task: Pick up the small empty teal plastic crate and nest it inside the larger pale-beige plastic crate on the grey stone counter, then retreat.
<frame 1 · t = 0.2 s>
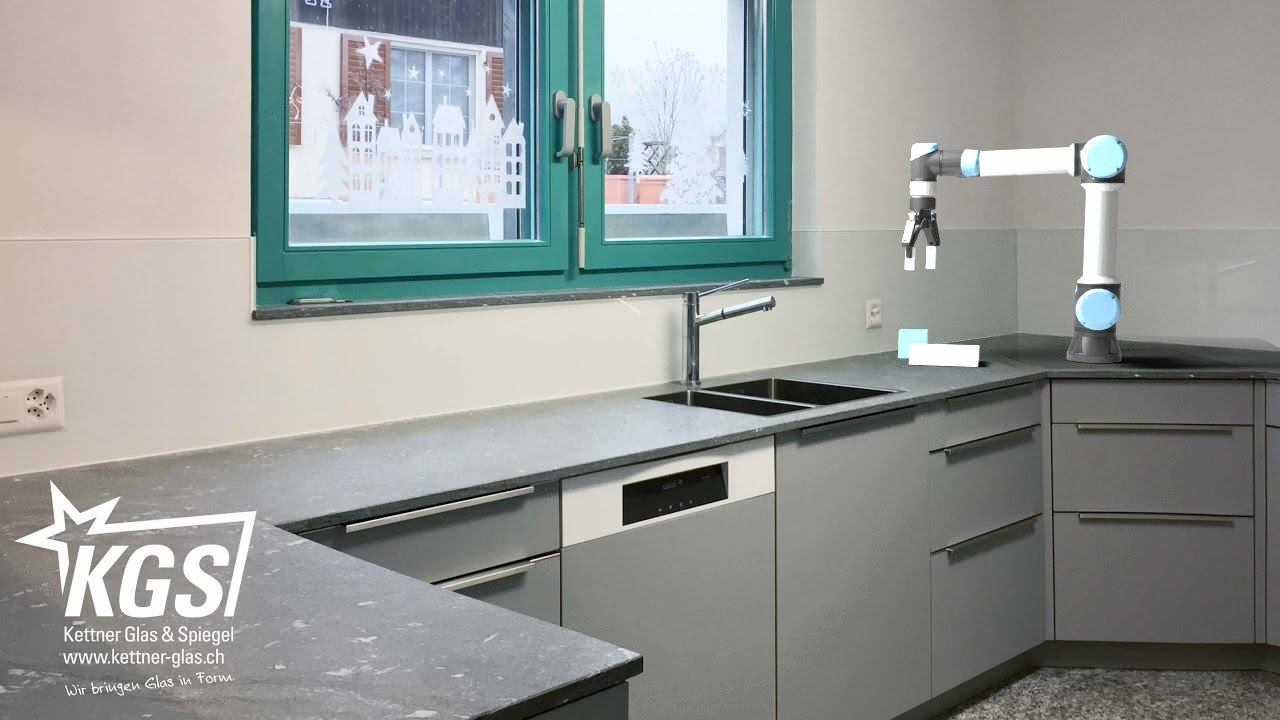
hand: (920, 269, 358), 27 cm above the countertop, fingers open, 13 cm apart
small crate: (912, 356, 367), on the countertop
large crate: (944, 362, 352), on the countertop
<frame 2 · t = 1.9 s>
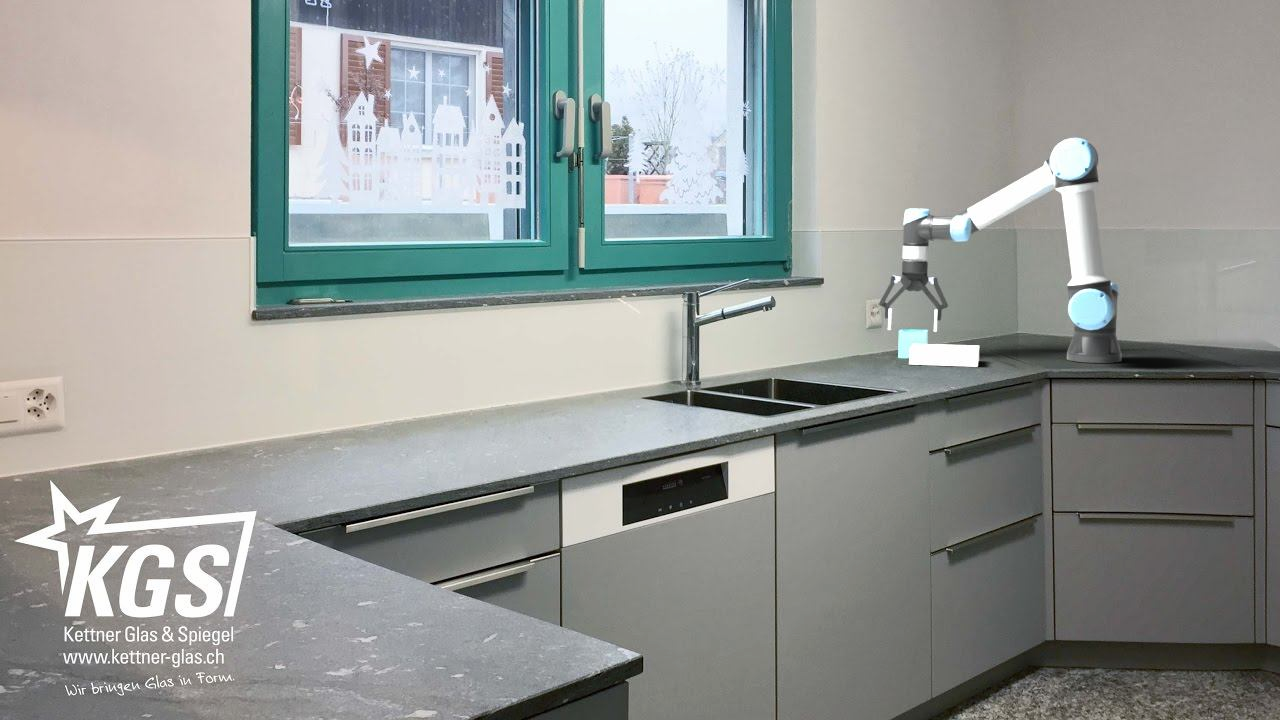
hand: (912, 330, 367), 8 cm above the countertop, fingers open, 13 cm apart
nothing on the countertop moved.
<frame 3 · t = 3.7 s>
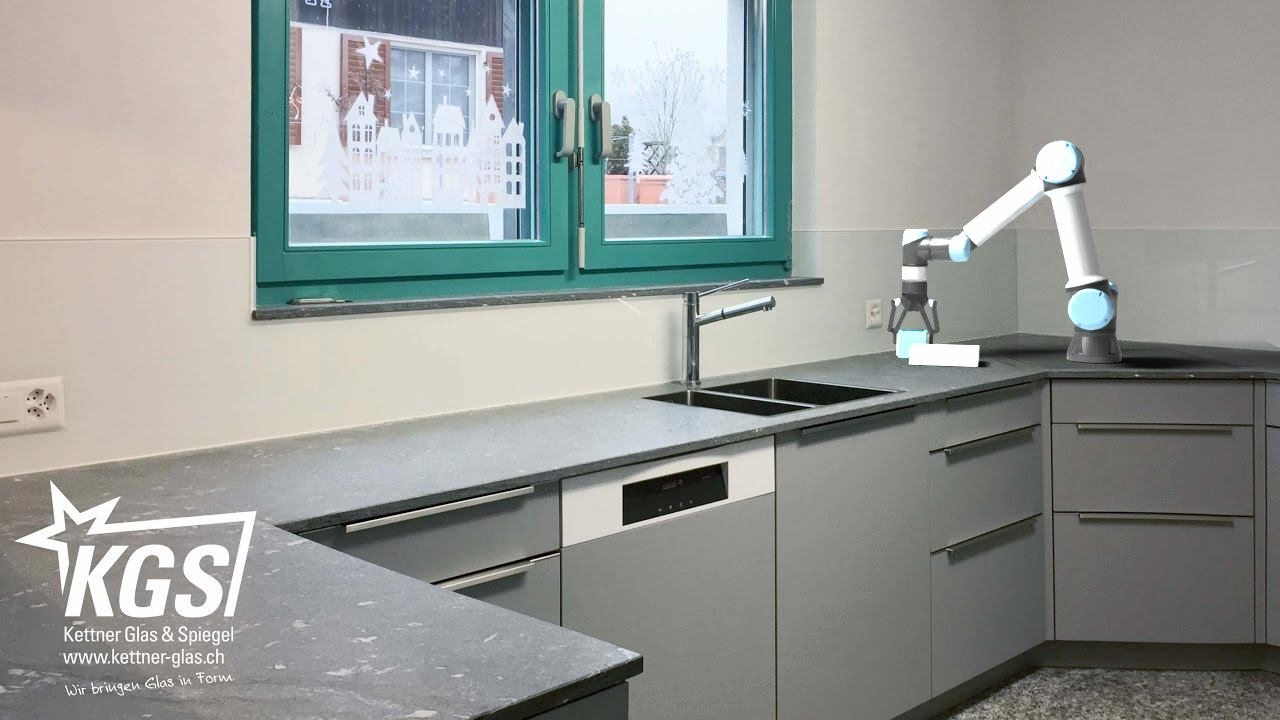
hand: (912, 355, 367), 0 cm above the countertop, fingers closed on small crate, 8 cm apart
small crate: (912, 356, 367), on the countertop, touching gripper
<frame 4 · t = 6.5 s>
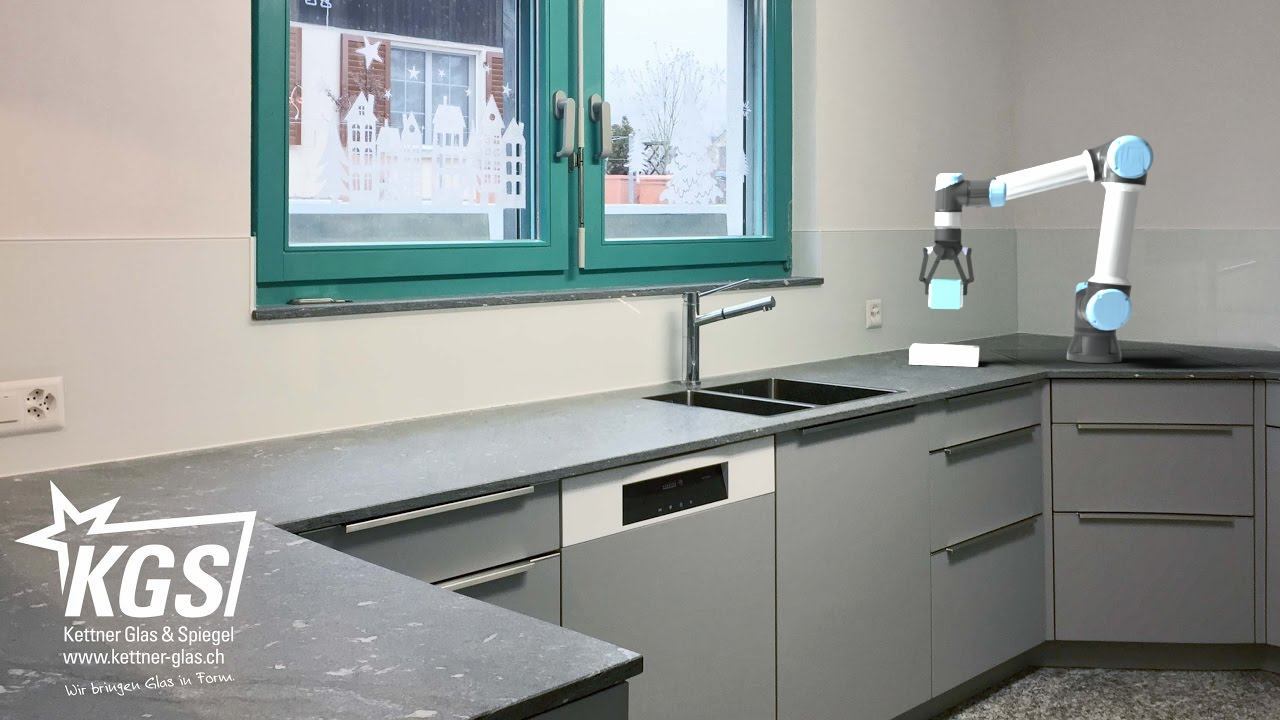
hand: (945, 306, 350), 16 cm above the countertop, fingers closed on small crate, 8 cm apart
small crate: (945, 307, 350), point 16 cm above the countertop, touching gripper
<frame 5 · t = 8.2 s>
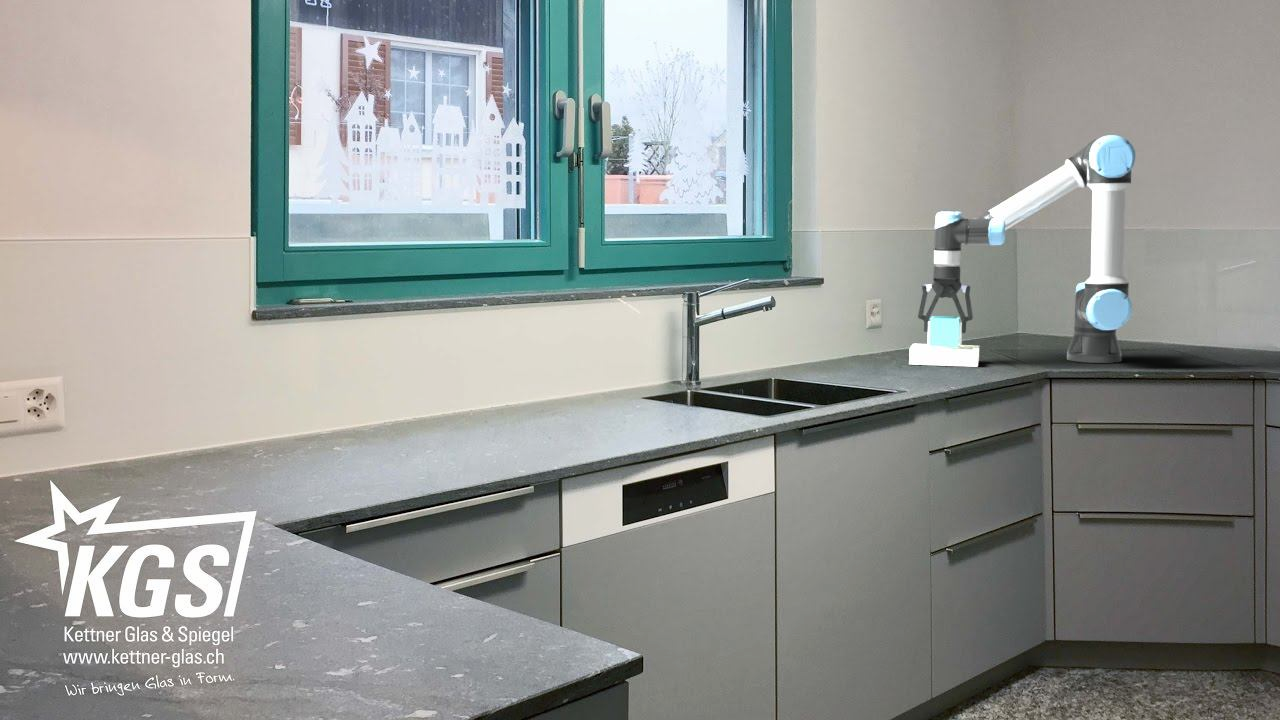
hand: (944, 343, 351), 6 cm above the countertop, fingers closed on small crate, 8 cm apart
small crate: (944, 344, 351), point 5 cm above the countertop, touching gripper
when the fingers open (4 cm above the countertop, at t = 9.5 s): small crate drops 2 cm, resting on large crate.
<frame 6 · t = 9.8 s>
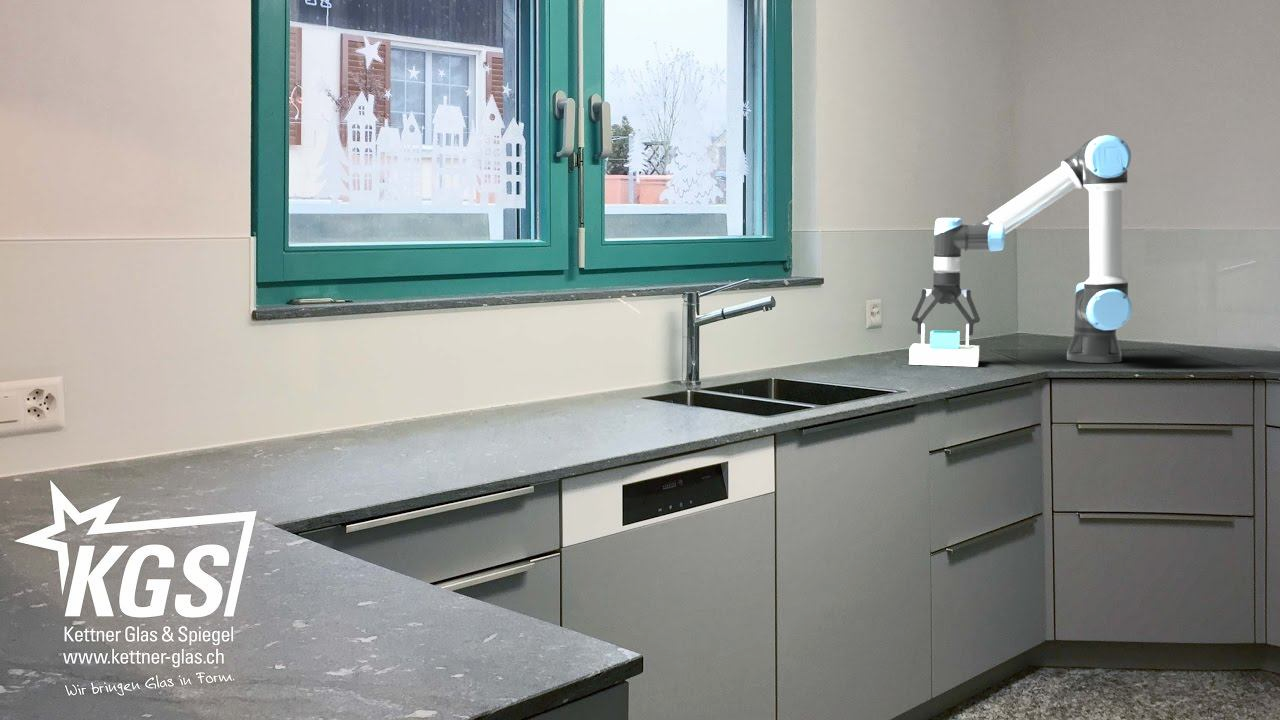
hand: (944, 346, 351), 5 cm above the countertop, fingers open, 12 cm apart
small crate: (944, 359, 352), point 1 cm above the countertop, touching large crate
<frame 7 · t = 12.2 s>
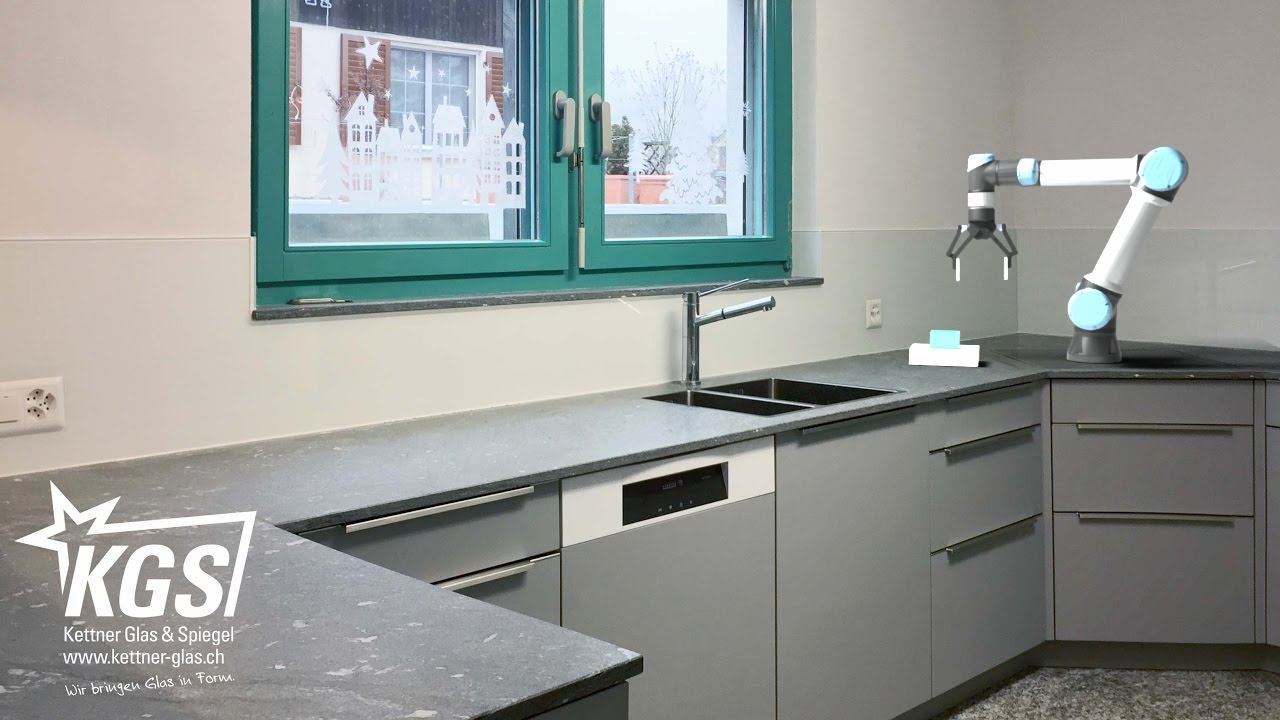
hand: (981, 280, 356), 24 cm above the countertop, fingers open, 13 cm apart
nothing on the countertop moved.
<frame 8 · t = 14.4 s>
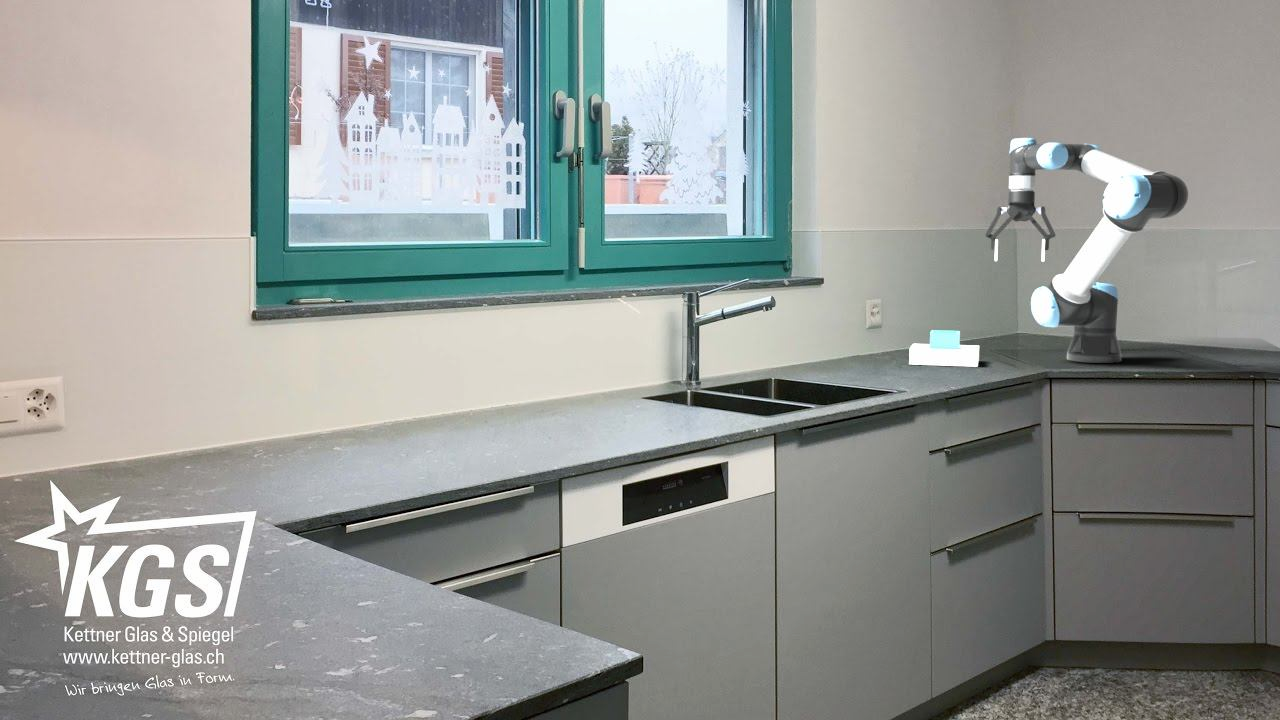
hand: (1019, 261, 366), 29 cm above the countertop, fingers open, 13 cm apart
nothing on the countertop moved.
at the end: small crate inside the target area on the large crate (0.0 cm from its centre), point 1.0 cm above the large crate's base; small crate tilted 0°; the gripper is holding nothing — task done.
